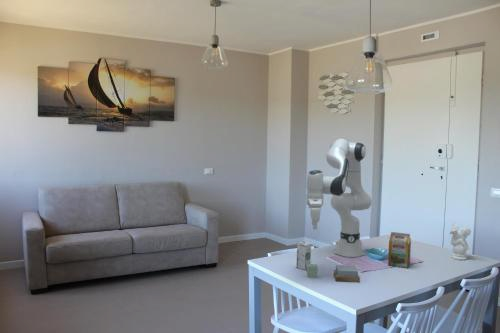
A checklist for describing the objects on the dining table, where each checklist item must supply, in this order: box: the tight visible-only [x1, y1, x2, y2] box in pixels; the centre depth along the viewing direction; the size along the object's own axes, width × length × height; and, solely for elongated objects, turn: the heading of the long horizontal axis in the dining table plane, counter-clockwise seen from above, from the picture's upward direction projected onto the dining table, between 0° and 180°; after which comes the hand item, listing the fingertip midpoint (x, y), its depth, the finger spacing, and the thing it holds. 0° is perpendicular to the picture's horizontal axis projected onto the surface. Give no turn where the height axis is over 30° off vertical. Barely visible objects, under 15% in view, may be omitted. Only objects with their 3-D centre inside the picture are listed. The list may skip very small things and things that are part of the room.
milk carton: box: [387, 231, 412, 270], centre depth 259 cm, size 11×11×19 cm
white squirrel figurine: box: [449, 221, 472, 261], centre depth 273 cm, size 12×12×22 cm
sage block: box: [306, 263, 318, 279], centre depth 237 cm, size 5×5×6 cm
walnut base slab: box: [333, 269, 361, 284], centre depth 234 cm, size 12×12×3 cm
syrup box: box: [296, 241, 312, 271], centre depth 250 cm, size 6×6×14 cm
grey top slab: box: [335, 264, 359, 277], centre depth 234 cm, size 10×10×3 cm
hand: (314, 227), depth 235 cm, fingers open, 8 cm apart
